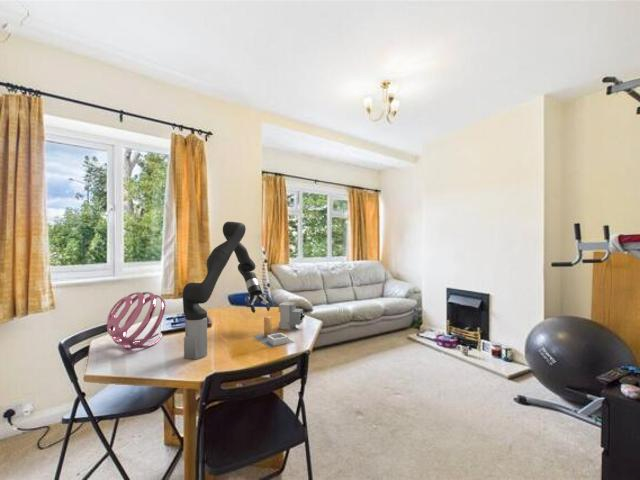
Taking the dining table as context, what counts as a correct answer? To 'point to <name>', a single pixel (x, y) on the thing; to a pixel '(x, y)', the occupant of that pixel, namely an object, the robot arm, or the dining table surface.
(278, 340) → the lockout board
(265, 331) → the wooden peg
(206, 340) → the robot arm
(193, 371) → the dining table surface
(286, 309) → the circuit breaker
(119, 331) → the spiral basket
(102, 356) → the dining table surface
